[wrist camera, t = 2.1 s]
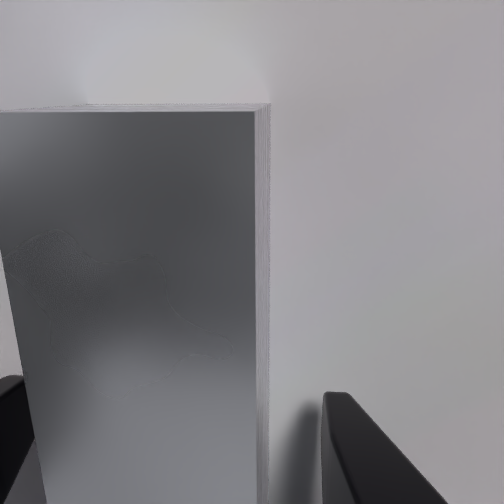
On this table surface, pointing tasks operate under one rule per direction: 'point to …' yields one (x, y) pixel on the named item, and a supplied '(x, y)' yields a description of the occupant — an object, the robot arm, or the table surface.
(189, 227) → the bracket
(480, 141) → the table surface
